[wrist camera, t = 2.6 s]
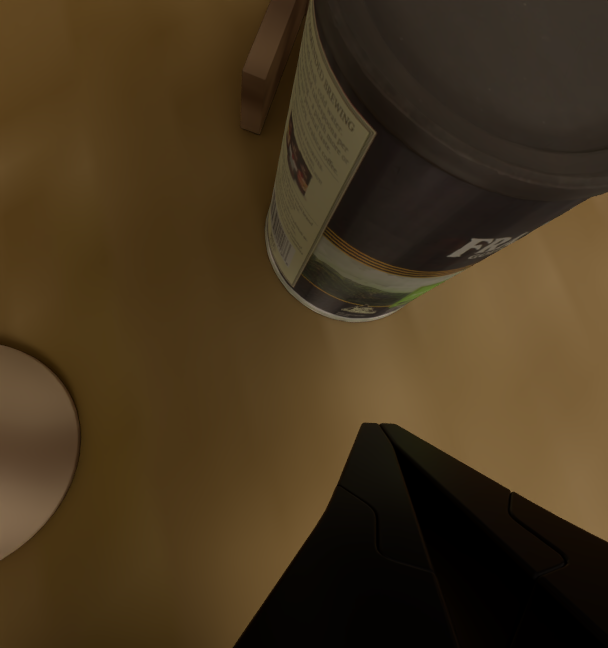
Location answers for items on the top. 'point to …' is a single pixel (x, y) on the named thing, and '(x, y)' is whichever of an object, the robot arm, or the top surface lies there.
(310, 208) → the coffee can
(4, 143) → the top surface
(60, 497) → the cork mat
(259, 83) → the walnut holder
